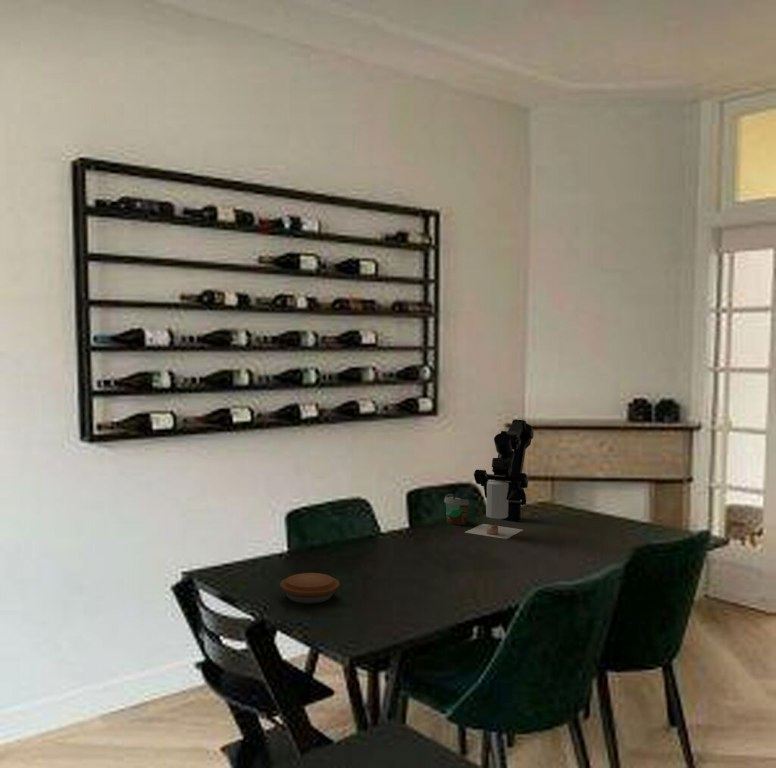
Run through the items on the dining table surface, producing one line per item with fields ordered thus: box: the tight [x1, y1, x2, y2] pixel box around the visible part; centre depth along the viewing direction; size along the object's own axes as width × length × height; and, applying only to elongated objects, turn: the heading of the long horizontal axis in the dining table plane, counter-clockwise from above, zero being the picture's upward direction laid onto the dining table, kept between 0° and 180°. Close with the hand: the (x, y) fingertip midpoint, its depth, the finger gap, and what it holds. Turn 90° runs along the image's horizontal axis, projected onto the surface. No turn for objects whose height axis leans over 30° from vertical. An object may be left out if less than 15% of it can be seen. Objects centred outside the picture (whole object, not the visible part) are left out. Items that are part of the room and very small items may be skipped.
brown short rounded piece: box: [487, 524, 499, 535], centre depth 273 cm, size 4×4×3 cm
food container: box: [443, 493, 470, 526], centre depth 289 cm, size 12×6×10 cm, turn 25°
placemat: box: [464, 523, 523, 540], centre depth 277 cm, size 16×16×1 cm
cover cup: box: [485, 480, 509, 520], centre depth 272 cm, size 7×7×12 cm
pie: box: [279, 572, 341, 605], centre depth 203 cm, size 15×16×5 cm
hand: (496, 498), depth 270 cm, fingers closed on cover cup, 7 cm apart
